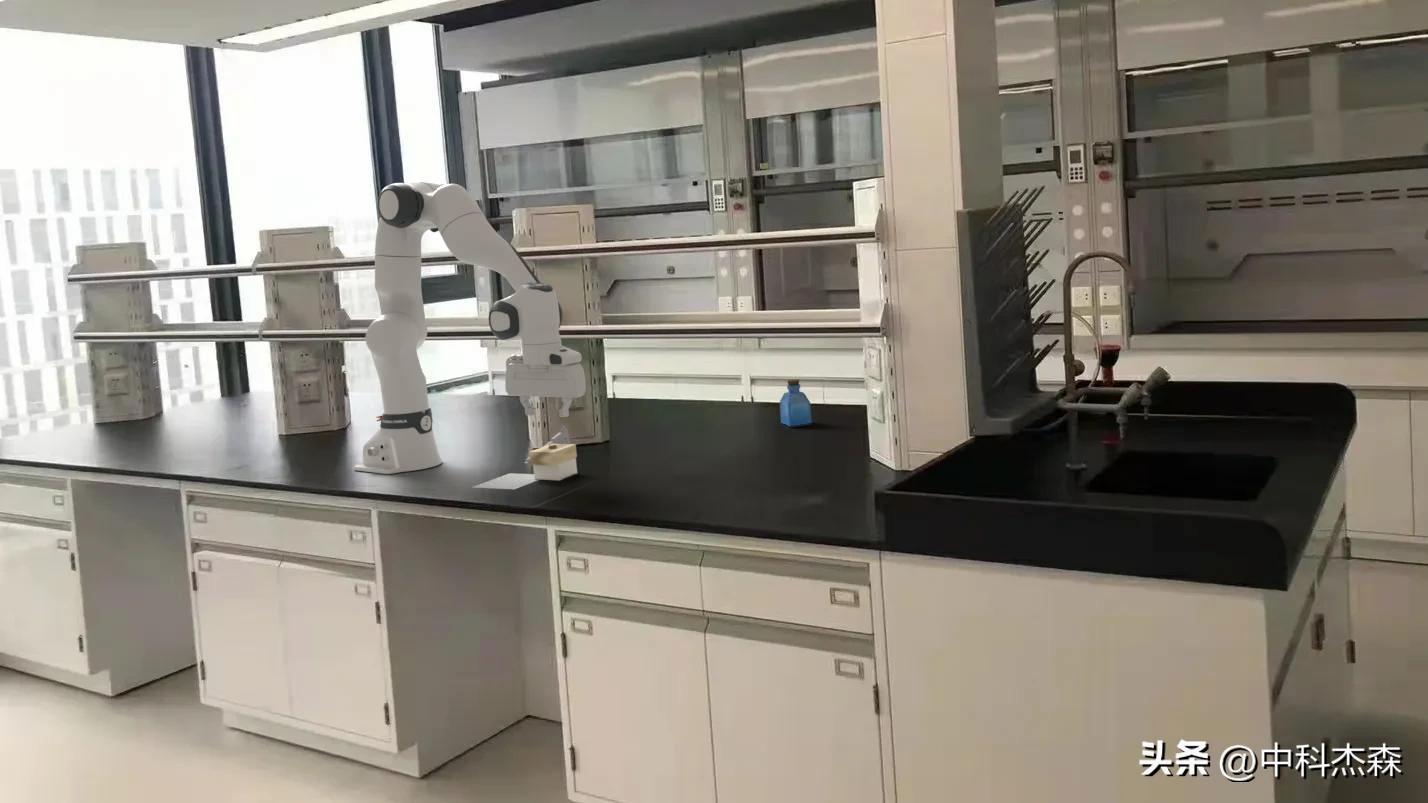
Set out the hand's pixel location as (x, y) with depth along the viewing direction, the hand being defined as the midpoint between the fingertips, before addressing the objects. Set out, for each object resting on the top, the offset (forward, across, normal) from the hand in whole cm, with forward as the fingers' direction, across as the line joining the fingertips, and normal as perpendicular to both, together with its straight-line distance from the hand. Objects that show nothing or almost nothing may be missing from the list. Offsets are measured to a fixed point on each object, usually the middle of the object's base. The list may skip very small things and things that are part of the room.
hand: (547, 415), depth 271 cm
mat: (+15, -7, -6) cm, 17 cm away
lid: (+10, +1, 0) cm, 11 cm away
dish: (+14, +1, +1) cm, 15 cm away
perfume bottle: (+13, +31, +67) cm, 75 cm away
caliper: (+15, -17, +22) cm, 32 cm away
